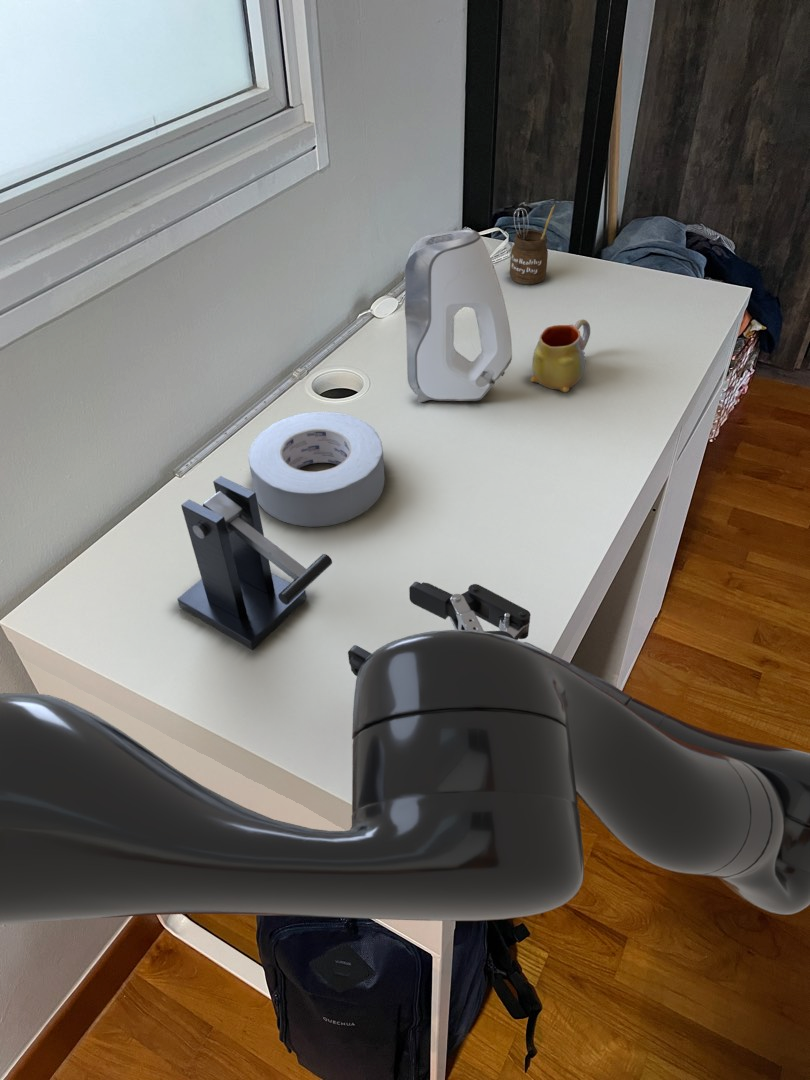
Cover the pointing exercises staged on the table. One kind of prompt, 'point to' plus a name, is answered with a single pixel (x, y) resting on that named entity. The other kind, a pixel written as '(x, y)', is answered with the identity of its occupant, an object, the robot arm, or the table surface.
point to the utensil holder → (529, 255)
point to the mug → (560, 356)
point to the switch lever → (267, 547)
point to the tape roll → (322, 491)
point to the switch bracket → (233, 573)
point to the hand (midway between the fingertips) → (382, 621)
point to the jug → (430, 306)
